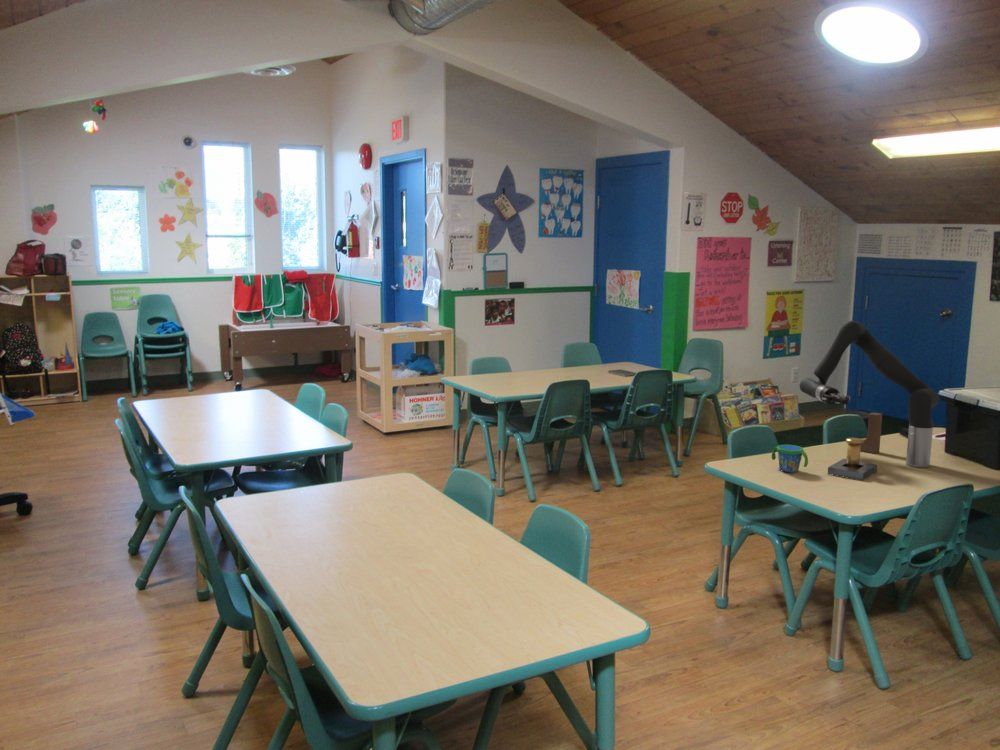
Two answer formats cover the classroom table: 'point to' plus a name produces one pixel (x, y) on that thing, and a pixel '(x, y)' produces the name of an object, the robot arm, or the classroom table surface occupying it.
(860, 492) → the classroom table surface
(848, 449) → the brass flanged peg
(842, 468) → the plate
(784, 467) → the snack cup
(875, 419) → the wooden block
